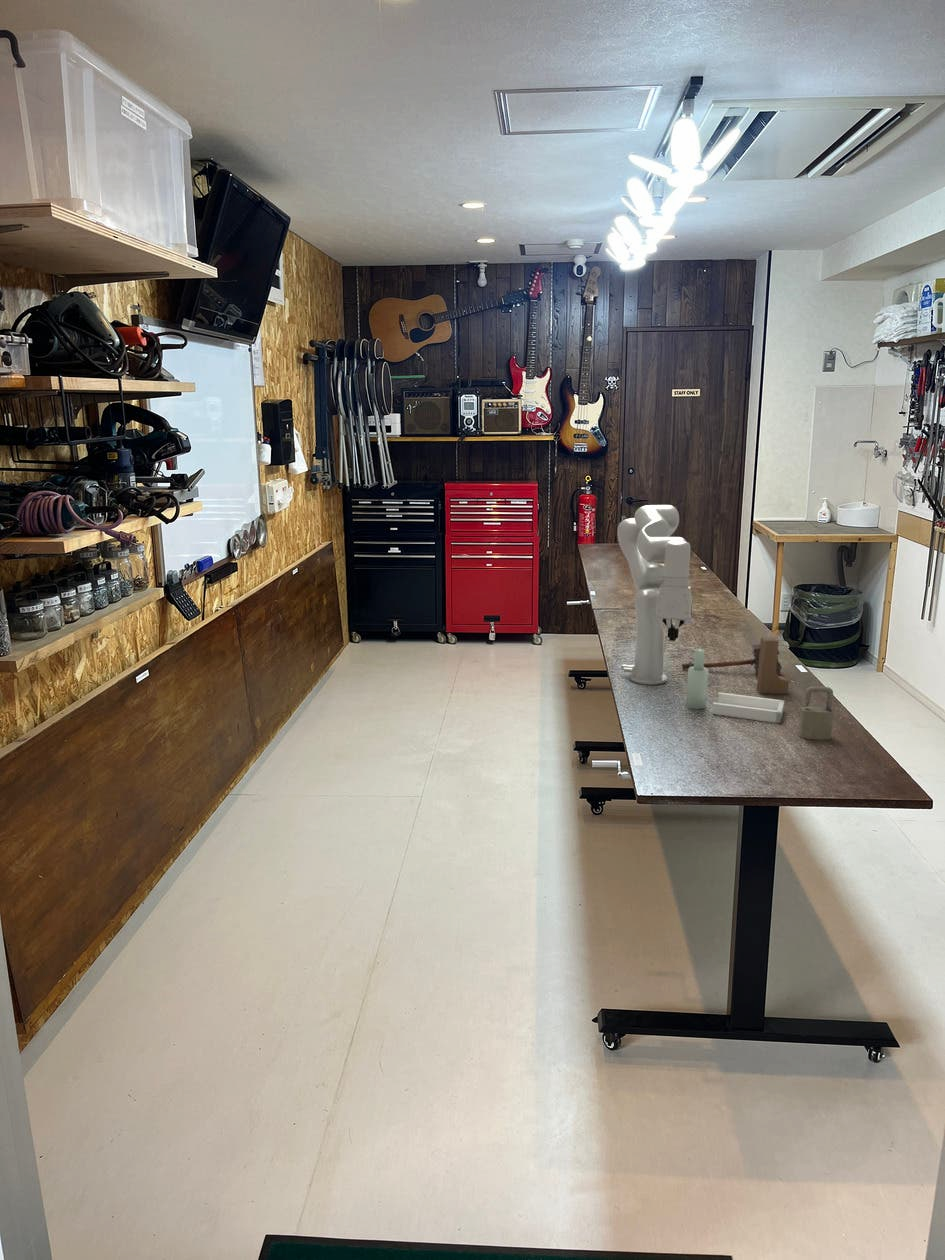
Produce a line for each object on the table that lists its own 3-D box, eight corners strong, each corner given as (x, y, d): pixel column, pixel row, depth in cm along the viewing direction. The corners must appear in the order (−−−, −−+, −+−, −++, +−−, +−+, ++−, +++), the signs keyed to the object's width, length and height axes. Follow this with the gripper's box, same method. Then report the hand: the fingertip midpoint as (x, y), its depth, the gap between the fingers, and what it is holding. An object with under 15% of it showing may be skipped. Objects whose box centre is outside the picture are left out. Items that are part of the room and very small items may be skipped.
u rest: (712, 714, 274) (713, 703, 273) (718, 702, 284) (719, 692, 283) (780, 723, 267) (781, 712, 266) (783, 711, 277) (784, 700, 276)
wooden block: (783, 689, 296) (788, 636, 291) (788, 694, 292) (793, 640, 287) (756, 689, 296) (760, 636, 291) (760, 694, 292) (765, 640, 287)
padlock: (798, 733, 259) (803, 684, 255) (827, 734, 258) (833, 685, 254) (801, 738, 255) (806, 688, 251) (831, 740, 254) (837, 689, 250)
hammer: (782, 674, 307) (779, 646, 305) (685, 686, 315) (680, 659, 313) (780, 668, 314) (776, 641, 311) (684, 680, 321) (680, 654, 319)
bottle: (684, 707, 280) (688, 651, 275) (687, 701, 285) (691, 646, 280) (704, 710, 278) (708, 654, 273) (707, 704, 283) (711, 648, 278)
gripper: (648, 582, 274) (646, 640, 278) (698, 585, 268) (695, 645, 273) (654, 577, 280) (651, 635, 285) (702, 581, 275) (699, 639, 279)
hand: (672, 640), depth 279 cm, fingers closed
